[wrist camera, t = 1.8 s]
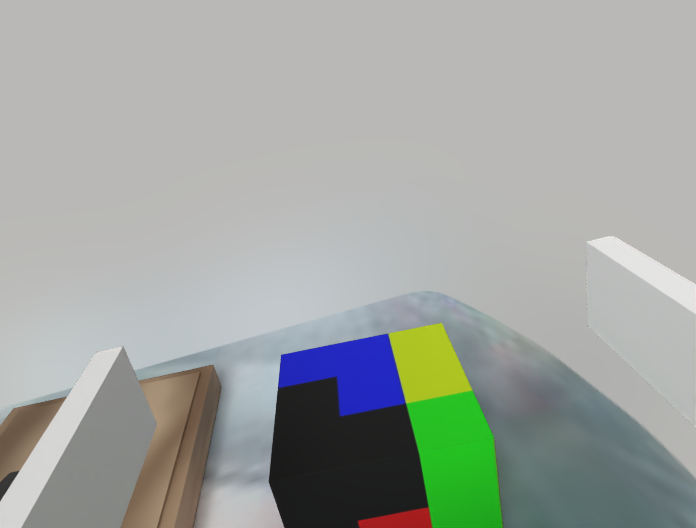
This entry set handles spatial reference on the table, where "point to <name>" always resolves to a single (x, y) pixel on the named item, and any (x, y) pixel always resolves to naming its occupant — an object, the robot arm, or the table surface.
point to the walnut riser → (164, 451)
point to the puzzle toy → (382, 437)
